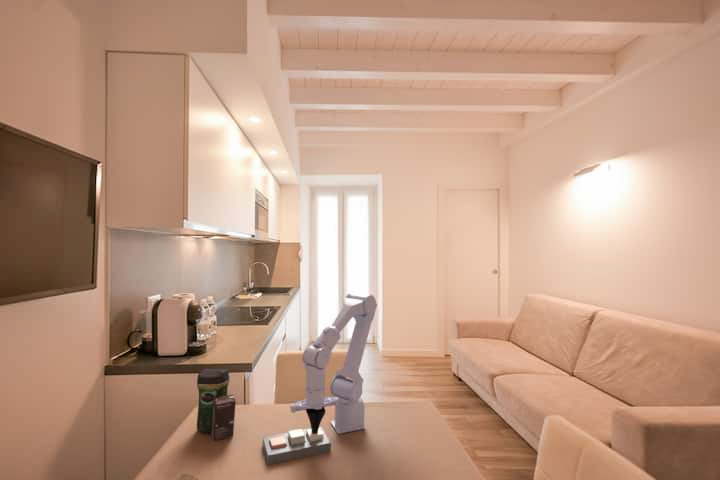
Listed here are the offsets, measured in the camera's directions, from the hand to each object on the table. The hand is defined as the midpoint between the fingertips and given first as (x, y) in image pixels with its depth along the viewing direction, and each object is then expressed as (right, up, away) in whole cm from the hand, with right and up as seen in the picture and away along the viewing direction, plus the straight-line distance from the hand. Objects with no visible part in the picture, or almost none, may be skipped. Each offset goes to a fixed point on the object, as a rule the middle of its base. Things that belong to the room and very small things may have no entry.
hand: (314, 432), depth 111 cm
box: (-29, -3, +4) cm, 30 cm away
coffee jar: (-34, -3, +8) cm, 35 cm away
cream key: (0, -3, 0) cm, 3 cm away
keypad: (-5, -4, -2) cm, 7 cm away
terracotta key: (-10, -3, -4) cm, 12 cm away
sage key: (-5, -2, -2) cm, 6 cm away
